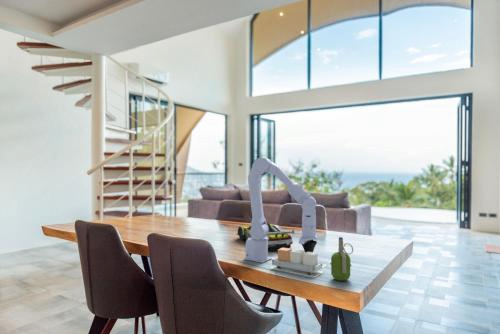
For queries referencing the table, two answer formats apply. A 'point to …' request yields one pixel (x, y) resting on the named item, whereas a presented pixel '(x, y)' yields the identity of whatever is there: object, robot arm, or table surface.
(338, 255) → the grenade
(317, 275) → the track
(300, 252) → the part
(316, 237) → the robot arm
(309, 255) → the part
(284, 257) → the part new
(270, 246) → the racing car
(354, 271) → the table surface
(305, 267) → the beam with t-bracket
